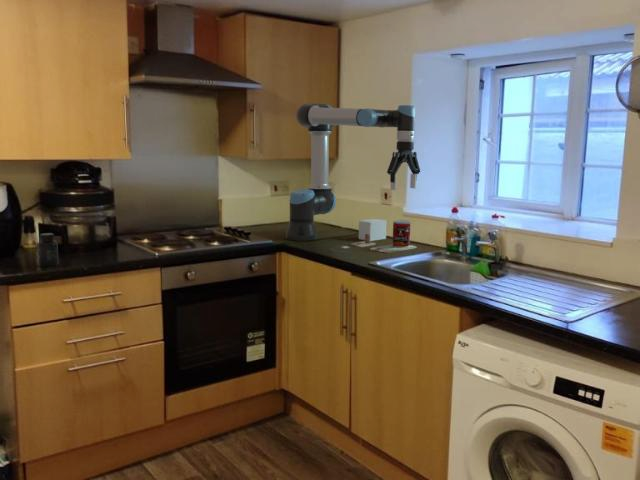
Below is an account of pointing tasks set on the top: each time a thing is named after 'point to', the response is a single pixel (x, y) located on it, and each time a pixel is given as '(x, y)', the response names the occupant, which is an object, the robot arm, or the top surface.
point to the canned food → (401, 233)
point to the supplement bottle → (47, 250)
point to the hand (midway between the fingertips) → (403, 189)
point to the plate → (366, 243)
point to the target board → (392, 248)
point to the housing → (372, 229)
